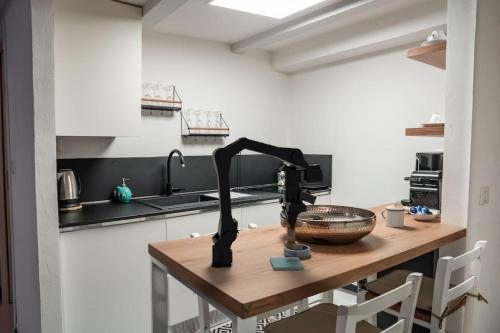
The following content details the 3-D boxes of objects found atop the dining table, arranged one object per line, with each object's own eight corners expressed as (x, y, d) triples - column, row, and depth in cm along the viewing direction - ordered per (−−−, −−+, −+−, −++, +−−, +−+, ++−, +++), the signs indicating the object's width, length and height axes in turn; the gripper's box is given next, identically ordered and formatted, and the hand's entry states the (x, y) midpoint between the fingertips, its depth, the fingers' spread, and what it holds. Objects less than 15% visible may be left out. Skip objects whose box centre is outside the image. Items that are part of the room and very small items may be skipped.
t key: (298, 243, 129) (299, 219, 129) (302, 247, 124) (302, 222, 124) (279, 243, 128) (280, 219, 128) (282, 247, 123) (283, 222, 123)
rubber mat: (273, 270, 115) (273, 267, 115) (269, 260, 125) (269, 257, 125) (304, 269, 116) (304, 266, 116) (297, 259, 126) (297, 257, 126)
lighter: (327, 238, 155) (327, 215, 154) (323, 239, 152) (323, 216, 152) (311, 235, 160) (311, 213, 160) (307, 236, 158) (307, 214, 157)
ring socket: (286, 258, 127) (286, 251, 127) (281, 250, 137) (281, 244, 137) (312, 257, 128) (312, 251, 128) (306, 249, 137) (306, 243, 137)
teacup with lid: (407, 226, 178) (408, 203, 177) (397, 228, 172) (398, 205, 171) (386, 222, 187) (386, 200, 186) (376, 224, 182) (376, 201, 181)
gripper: (322, 187, 116) (321, 233, 117) (307, 181, 135) (306, 221, 136) (289, 186, 115) (288, 234, 116) (279, 180, 134) (278, 221, 135)
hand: (291, 227), depth 126 cm, fingers closed on t key, 3 cm apart
